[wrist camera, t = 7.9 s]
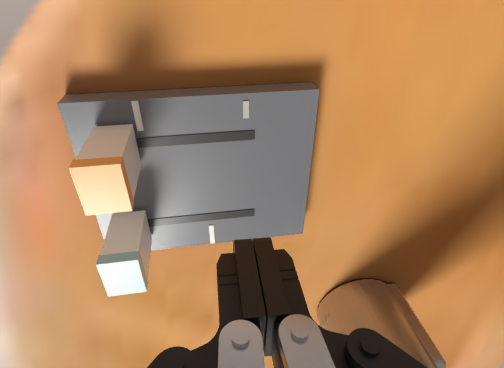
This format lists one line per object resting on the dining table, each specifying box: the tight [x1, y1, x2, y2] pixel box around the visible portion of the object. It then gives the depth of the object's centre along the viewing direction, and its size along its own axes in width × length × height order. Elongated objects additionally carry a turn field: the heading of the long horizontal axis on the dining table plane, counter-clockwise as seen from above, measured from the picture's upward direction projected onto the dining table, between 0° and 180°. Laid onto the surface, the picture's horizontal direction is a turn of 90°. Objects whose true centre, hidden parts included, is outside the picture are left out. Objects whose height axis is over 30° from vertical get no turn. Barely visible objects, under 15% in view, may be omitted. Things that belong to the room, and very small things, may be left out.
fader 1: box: [69, 124, 141, 216], centre depth 20 cm, size 2×3×5 cm
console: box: [57, 82, 320, 250], centre depth 25 cm, size 16×13×2 cm
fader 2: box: [96, 210, 152, 296], centre depth 24 cm, size 2×3×5 cm
